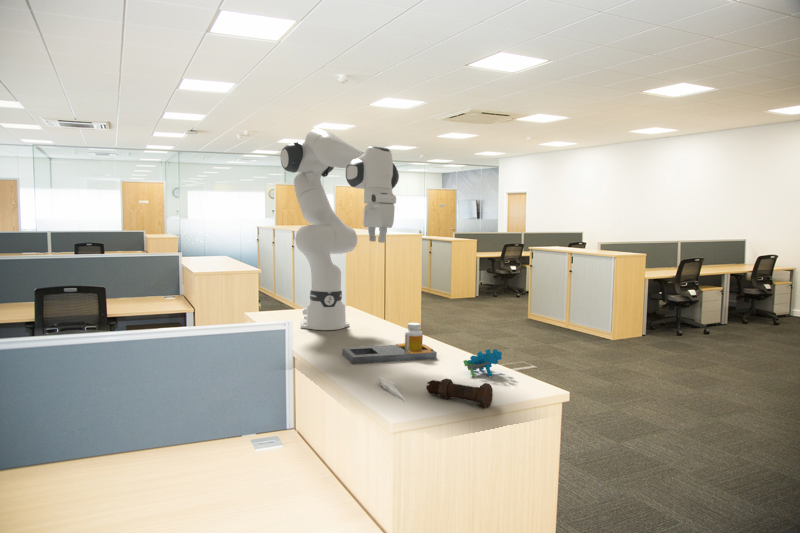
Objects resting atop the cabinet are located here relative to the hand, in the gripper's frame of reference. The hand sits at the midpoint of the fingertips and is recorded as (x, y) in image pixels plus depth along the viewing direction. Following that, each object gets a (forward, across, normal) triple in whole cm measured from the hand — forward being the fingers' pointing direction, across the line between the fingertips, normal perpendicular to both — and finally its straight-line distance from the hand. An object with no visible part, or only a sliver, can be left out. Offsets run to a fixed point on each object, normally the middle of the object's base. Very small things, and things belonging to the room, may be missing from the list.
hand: (376, 242), depth 165 cm
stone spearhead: (+35, +44, -9) cm, 56 cm away
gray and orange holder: (+34, +12, +1) cm, 36 cm away
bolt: (+35, +53, +3) cm, 64 cm away
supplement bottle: (+34, +12, +9) cm, 37 cm away
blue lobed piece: (+34, +35, +20) cm, 53 cm away
